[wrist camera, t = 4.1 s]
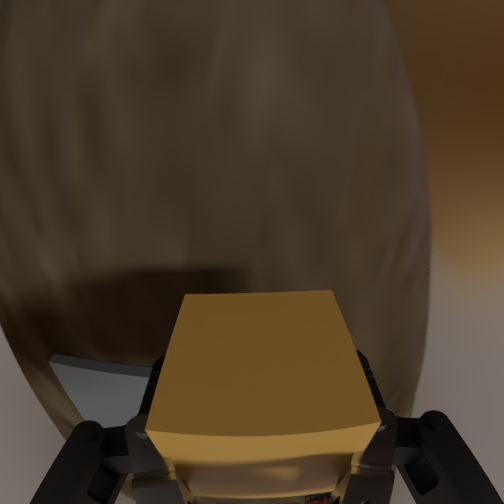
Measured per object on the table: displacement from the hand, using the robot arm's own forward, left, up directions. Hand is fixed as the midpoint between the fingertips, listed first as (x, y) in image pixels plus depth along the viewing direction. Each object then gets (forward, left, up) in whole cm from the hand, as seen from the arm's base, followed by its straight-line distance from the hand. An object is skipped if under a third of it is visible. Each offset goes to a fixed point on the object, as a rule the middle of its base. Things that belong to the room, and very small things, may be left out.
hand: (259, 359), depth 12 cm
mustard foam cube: (0, 0, -1) cm, 1 cm away
